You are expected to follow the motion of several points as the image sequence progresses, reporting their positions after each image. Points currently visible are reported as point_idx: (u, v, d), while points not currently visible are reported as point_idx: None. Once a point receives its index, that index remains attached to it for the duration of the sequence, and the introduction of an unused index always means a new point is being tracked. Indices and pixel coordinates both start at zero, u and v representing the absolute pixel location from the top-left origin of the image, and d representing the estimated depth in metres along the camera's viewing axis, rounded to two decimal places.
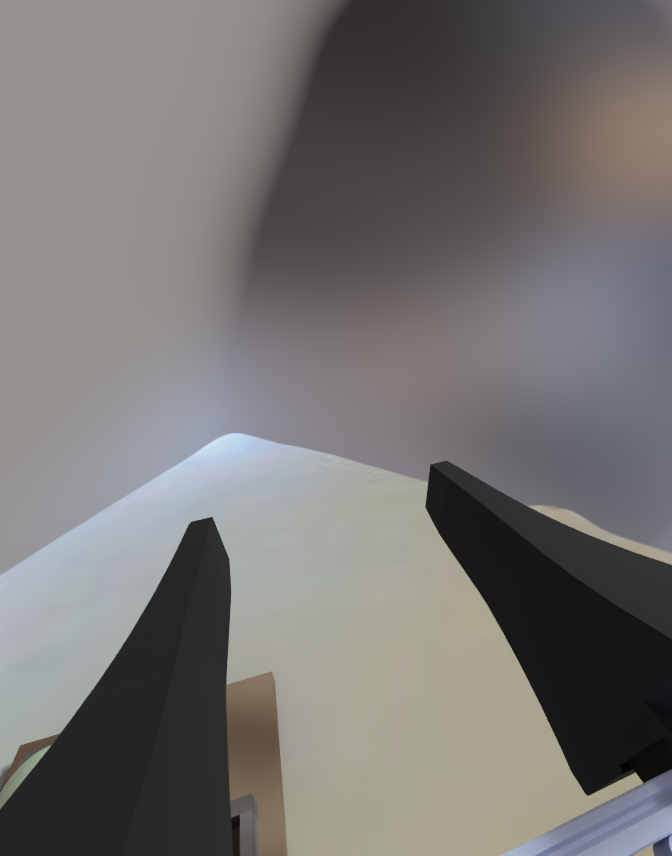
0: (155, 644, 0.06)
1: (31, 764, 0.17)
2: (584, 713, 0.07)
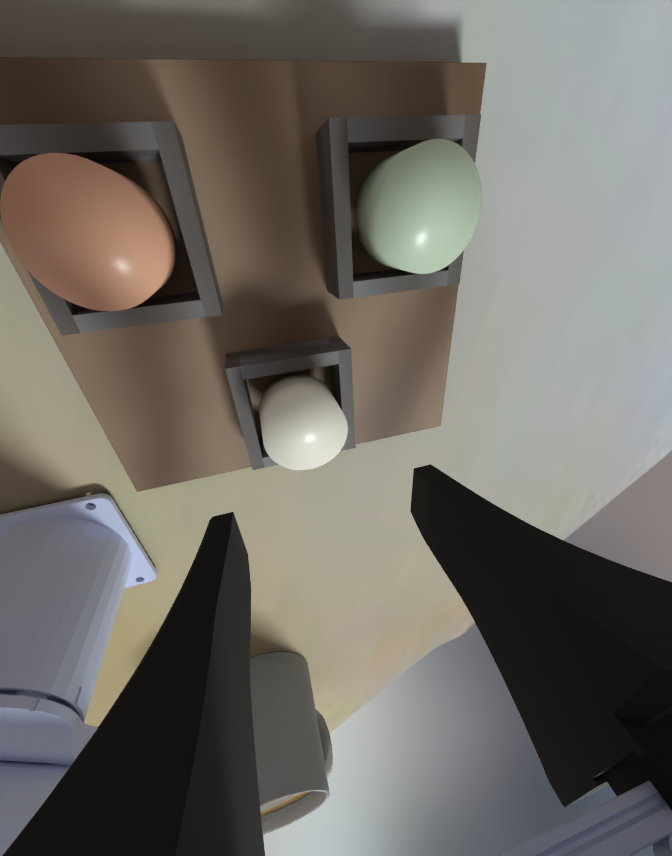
0: (189, 634, 0.06)
1: (468, 180, 0.10)
2: (559, 724, 0.07)
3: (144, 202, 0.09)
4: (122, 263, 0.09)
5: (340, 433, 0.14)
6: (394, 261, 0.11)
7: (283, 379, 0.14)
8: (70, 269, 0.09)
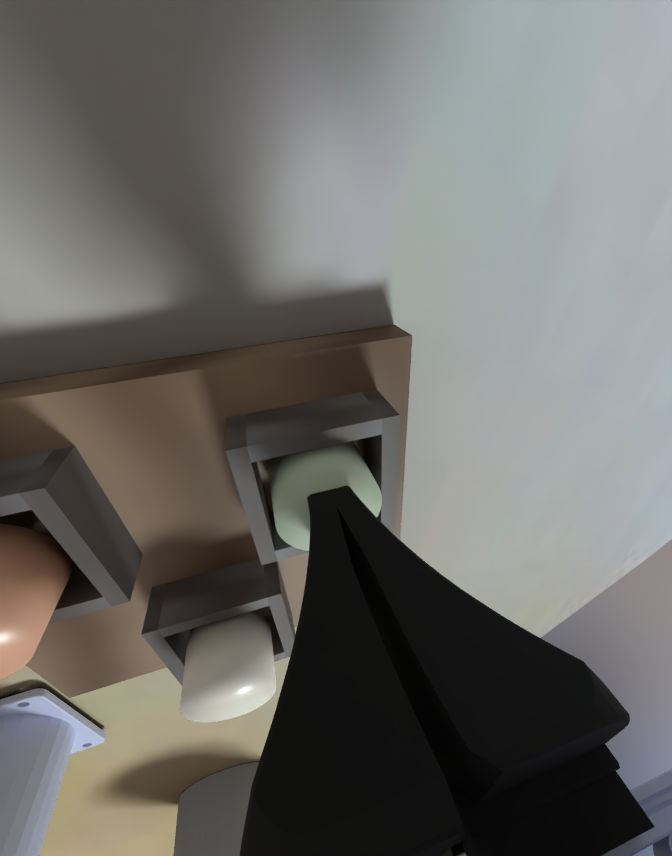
0: (338, 589, 0.07)
1: (364, 487, 0.10)
2: None
3: (0, 612, 0.08)
4: None
5: (268, 689, 0.13)
6: (298, 547, 0.11)
7: (209, 624, 0.14)
8: None
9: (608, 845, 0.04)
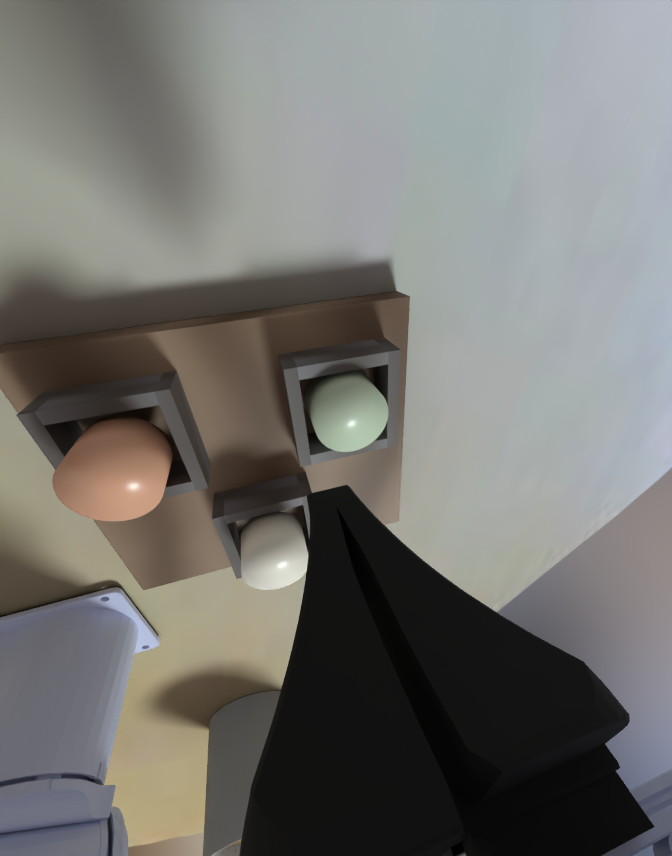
0: (337, 589, 0.07)
1: (376, 401, 0.15)
2: None
3: (149, 461, 0.12)
4: (134, 494, 0.13)
5: (303, 563, 0.18)
6: (329, 447, 0.16)
7: (258, 518, 0.18)
8: (98, 503, 0.13)
9: (608, 845, 0.04)
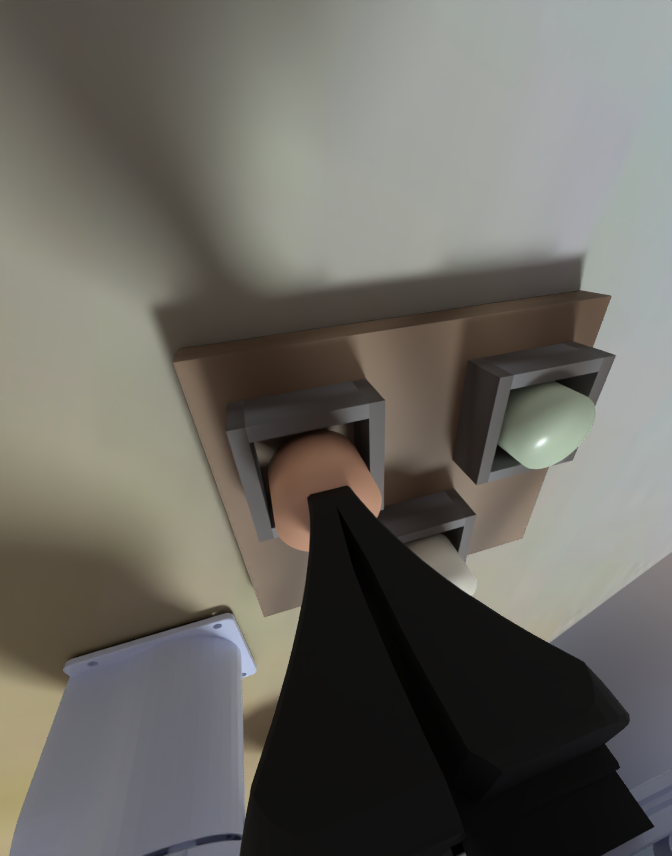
0: (337, 589, 0.07)
1: (586, 412, 0.13)
2: None
3: (375, 484, 0.11)
4: None
5: (469, 592, 0.16)
6: (523, 464, 0.14)
7: (416, 540, 0.16)
8: None
9: (608, 845, 0.04)
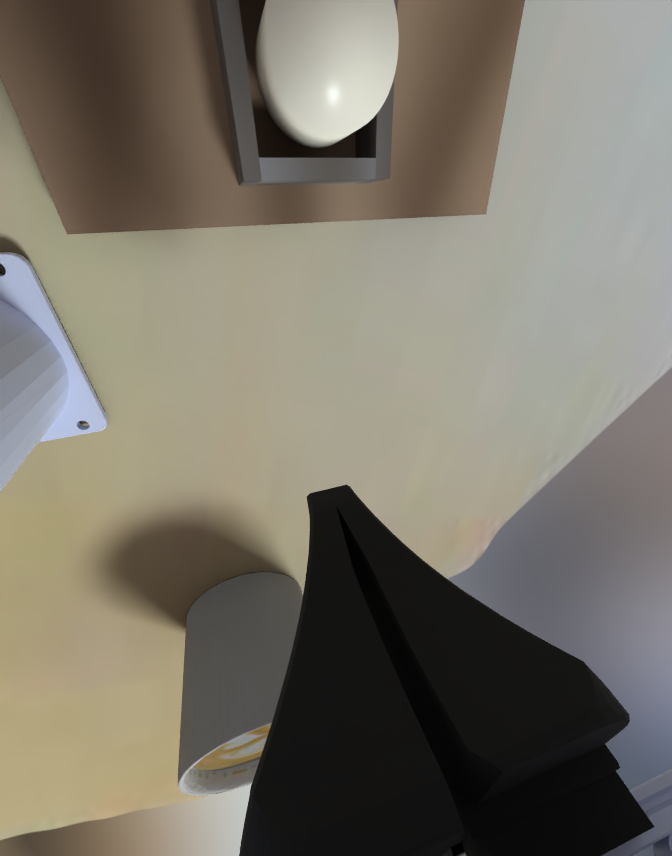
0: (337, 589, 0.07)
1: None
2: None
3: None
4: None
5: (386, 58, 0.09)
6: None
7: None
8: None
9: (608, 845, 0.04)
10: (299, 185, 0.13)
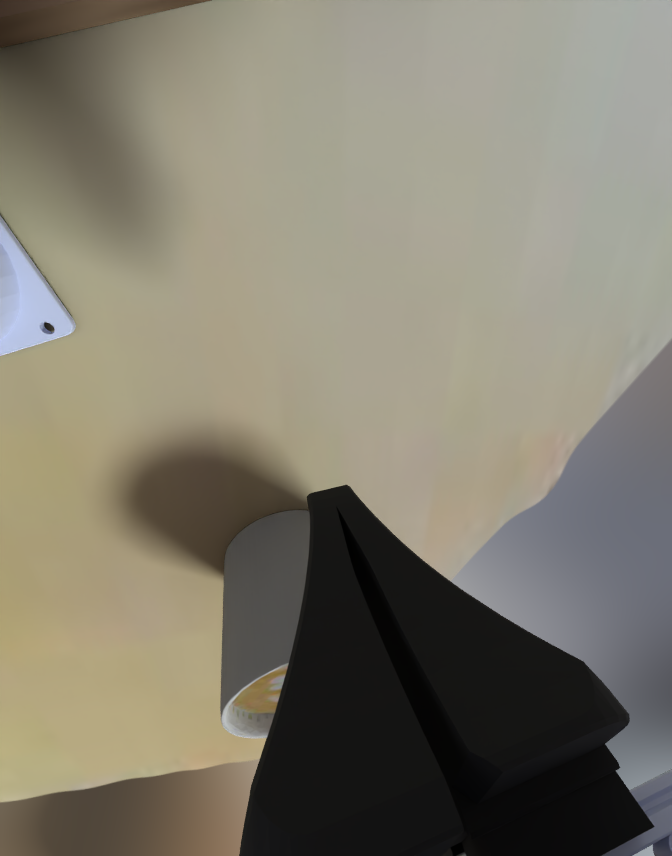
0: (337, 589, 0.07)
1: None
2: None
3: None
4: None
5: None
6: None
7: None
8: None
9: (608, 845, 0.04)
10: None
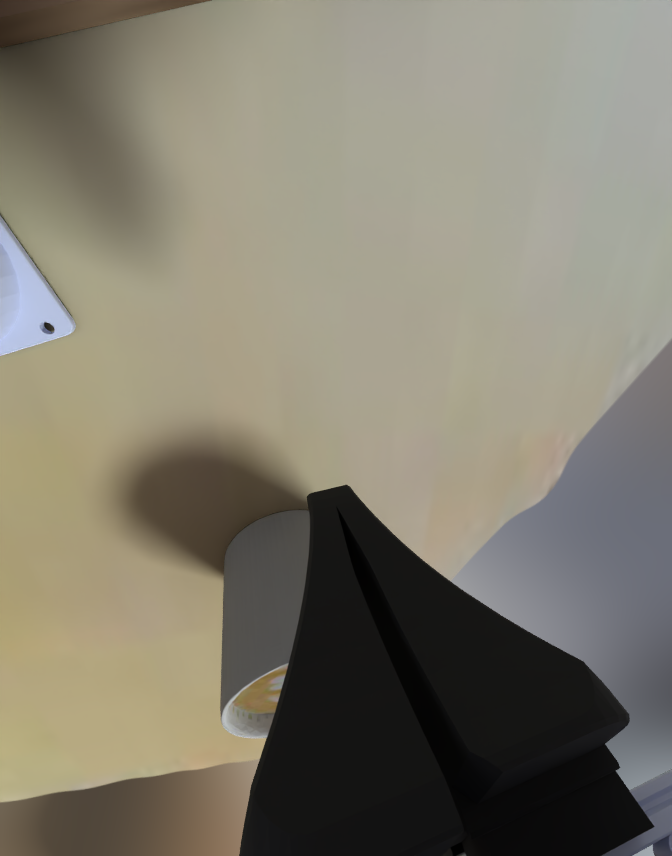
0: (337, 589, 0.07)
1: None
2: None
3: None
4: None
5: None
6: None
7: None
8: None
9: (608, 845, 0.04)
10: None
